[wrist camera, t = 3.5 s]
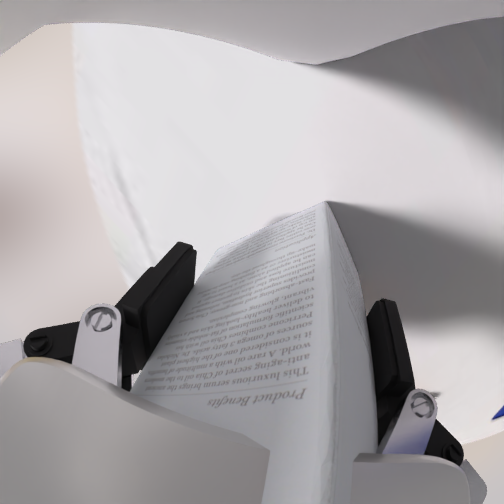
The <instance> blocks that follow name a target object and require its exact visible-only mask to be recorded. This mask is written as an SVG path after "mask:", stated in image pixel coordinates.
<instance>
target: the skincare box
mask: <svg viewBox="0 0 504 504" xmlns="http://www.w3.org/2000/svg"><path fill="white" fill-rule="evenodd" d="M130 393H132V394H135V395H137V396H139V397H141V398H144V399H146V400H148V401H150V402H153V403H155V404H157V405H160V406H162V407H164V408H167V409H169V410H172V411H175V412H177V413H180V414H182V415H185V416H188V417H191V418H193V419H196V420H199V421H202V422H205V423H208V424H211V425H215V426H218V427H221V428H224V429H228V430H231V431H235V432H238V433H242V434H244V435H245V436H247V437H249V438H250V439H252V440H253V441H255V442H257V443H258V444H260V445H262V446H263V447H265V448H267V449H268V450H270V456H269V463H268V469H267V475H266V481H265V486H264V492H263V497H262V502H261V504H350V498H351V485H352V467H353V461H354V459H355V458H356V457H357V456H358V454H359V453H375V454H376V450H377V448H378V425H377V407H376V393H375V381H374V371H373V362H372V354H371V345H370V338H369V331H368V324H367V318H366V312H365V306H364V300H363V295H362V289H361V284H360V279H359V274H358V272H357V269H356V267H355V264H354V262H353V259H352V257H351V254H350V252H349V249H348V247H347V245H346V242H345V240H344V237H343V235H342V233H341V230H340V228H339V226H338V223H337V221H336V219H335V217H334V215H333V212H332V210H331V208H330V206H329V205H328V203H327V202H325V201H324V202H321V203H319V204H317V205H315V206H313V207H310V208H308V209H306V210H303V211H301V212H299V213H297V214H294V215H292V216H290V217H287V218H285V219H283V220H281V221H279V222H276V223H274V224H272V225H269V226H267V227H265V228H263V229H261V230H259V231H256V232H254V233H252V234H250V235H247V236H245V237H243V238H241V239H239V240H237V241H234V242H232V243H230V244H228V245H225V246H223V247H221V248H219V249H217V251H216V252H215V254H214V255H213V257H212V258H211V260H210V261H209V263H208V264H207V266H206V268H205V269H204V271H203V272H202V274H201V275H200V277H199V278H198V280H197V282H196V283H195V285H194V287H193V288H192V290H191V291H190V293H189V294H188V296H187V297H186V299H185V301H184V303H183V304H182V306H181V307H180V309H179V310H178V312H177V314H176V315H175V317H174V319H173V320H172V322H171V323H170V325H169V327H168V328H167V330H166V332H165V333H164V335H163V336H162V338H161V340H160V341H159V343H158V345H157V346H156V348H155V350H154V351H153V353H152V355H151V356H150V358H149V359H148V361H147V363H146V365H145V366H144V368H143V370H142V372H141V373H140V375H139V377H138V378H137V380H136V382H135V383H134V385H133V387H132V389H131V390H130Z"/></svg>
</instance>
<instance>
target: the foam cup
mask: <svg viewBox="0 0 504 504" xmlns="http://www.w3.org/2000/svg"><path fill="white" fill-rule="evenodd" d="M495 17H504V0H0V56H1V55H2V54H3V53H5V52H6V51H7V50H8V49H10V48H11V47H12V46H14V45H15V44H16V43H18V42H19V41H21V40H22V39H23V38H25V37H26V36H28V35H29V34H31V33H32V32H34V31H36V30H37V29H39V28H40V27H42V26H44V25H48V24H59V23H118V24H131V25H141V26H149V27H156V28H163V29H169V30H175V31H180V32H185V33H190V34H195V35H199V36H204V37H208V38H212V39H216V40H219V41H223V42H227V43H230V44H233V45H237V46H240V47H243V48H246V49H249V50H252V51H255V52H258V53H261V54H264V55H267V56H269V57H272V58H275V59H277V60H281V61H290V62H299V63H307V64H314V65H318V64H322V63H326V62H330V61H334V60H339V59H343V58H348V57H352V56H354V55H357V54H359V53H362V52H364V51H367V50H369V49H372V48H375V47H377V46H380V45H383V44H386V43H389V42H391V41H394V40H397V39H400V38H404V37H407V36H410V35H413V34H417V33H420V32H424V31H427V30H431V29H435V28H439V27H443V26H448V25H452V24H457V23H462V22H467V21H473V20H479V19H487V18H495Z"/></svg>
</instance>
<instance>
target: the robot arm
mask: <svg viewBox="0 0 504 504" xmlns="http://www.w3.org/2000/svg"><path fill="white" fill-rule="evenodd" d="M196 254H197V252H196V250H194V249H193V246H192V245H190V244H186V243H183V242H177V243H176V244H175V246H174V247H173V248H172V249H171V250H170V251H169V252H168V253H167V254H166V255H165V256H164V257H163V258H162V259H161V261H160V262H159V263H158V264H157V265H156V266H155V267H150V268H149V269H148V270H147V271H146V272H145V273H144V274H143V275H142V276H141V277H140V278H139V279H138V280H137V282H136V283H135V284H134V285H133V286H132V287H131V288H130V289H129V290H128V292H127V293H126V294H125V295H124V296H123V297H122V299H121V300H120V301H119V302H118V303H117V304H116V305H115V306H112V305H109V304H104V303H102V304H96V305H93V306H91V307H89V308H88V309H86V310H85V311H84V312H83V314H82V316H81V320H80V321H79V322H73V323H68V324H63V325H58V326H52V327H46V328H40V329H37V330H34V331H33V332H31V333H30V334H29V335H28V336H27V337H26V339H25V341H23V342H22V340H21V339H17V340H13V341H10V342H5V343H1V344H0V504H261V502H262V497H263V492H264V486H265V481H266V475H267V469H268V463H269V456H270V450H268V449H267V448H265V447H263V446H262V445H260V444H258V443H257V442H255V441H253V440H252V439H250V438H249V437H247V436H245V435H244V434H242V433H238V432H235V431H231V430H228V429H224V428H221V427H218V426H215V425H211V424H208V423H205V422H202V421H199V420H196V419H193V418H191V417H188V416H185V415H182V414H180V413H177V412H175V411H172V410H169V409H167V408H164V407H162V406H160V405H157V404H155V403H153V402H150V401H148V400H146V399H144V398H141V397H139V396H137V395H135V394H132V393H130V390H131V389H132V387H133V385H134V374H136V373H138V372H139V370H143V368H144V366H145V365H146V363H147V361H148V359H149V358H150V356H151V355H152V353H153V351H154V350H155V348H156V346H157V345H158V343H159V341H160V340H161V338H162V336H163V335H164V333H165V332H166V330H167V328H168V327H169V325H170V323H171V322H172V320H173V319H174V317H175V315H176V314H177V312H178V310H179V309H180V307H181V306H182V304H183V303H184V301H185V299H186V297H187V296H188V294H189V293H190V291H191V290H192V288H193V287H194V279H195V266H196ZM366 318H367V324H368V331H369V338H370V345H371V354H372V362H373V371H374V381H375V393H376V407H377V425H378V448H377V450H376V454H375V453H359V454H358V456H357V457H356V458H355V459H354V461H353V467H352V485H351V498H350V504H482V503H483V501H484V499H485V497H486V494H487V487H486V484H485V482H484V481H483V480H482V479H481V477H480V476H479V475H478V473H477V472H476V471H475V470H474V468H473V467H472V466H471V465H470V463H469V462H468V461H467V460H466V459H465V460H464V461H463V457H464V453H463V449H462V446H461V444H460V443H459V442H458V441H457V440H456V439H455V438H454V437H453V436H452V435H451V434H450V433H449V432H448V431H447V430H446V429H445V427H444V426H443V425H442V424H441V423H440V422H439V421H438V420H437V419H436V415H437V409H438V408H437V403H436V401H435V399H434V397H433V396H432V395H431V394H430V393H429V392H428V391H426V390H423V389H415V382H414V376H413V371H412V366H411V361H410V357H409V352H408V348H407V343H406V339H405V335H404V331H403V327H402V323H401V320H400V316H399V312H398V309H397V305H396V303H395V302H394V301H391V300H387V299H384V298H382V299H381V300H380V301H376V302H375V303H374V305H373V307H372V309H371V310H370V312H369V314H368V316H367V317H366Z"/></svg>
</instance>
